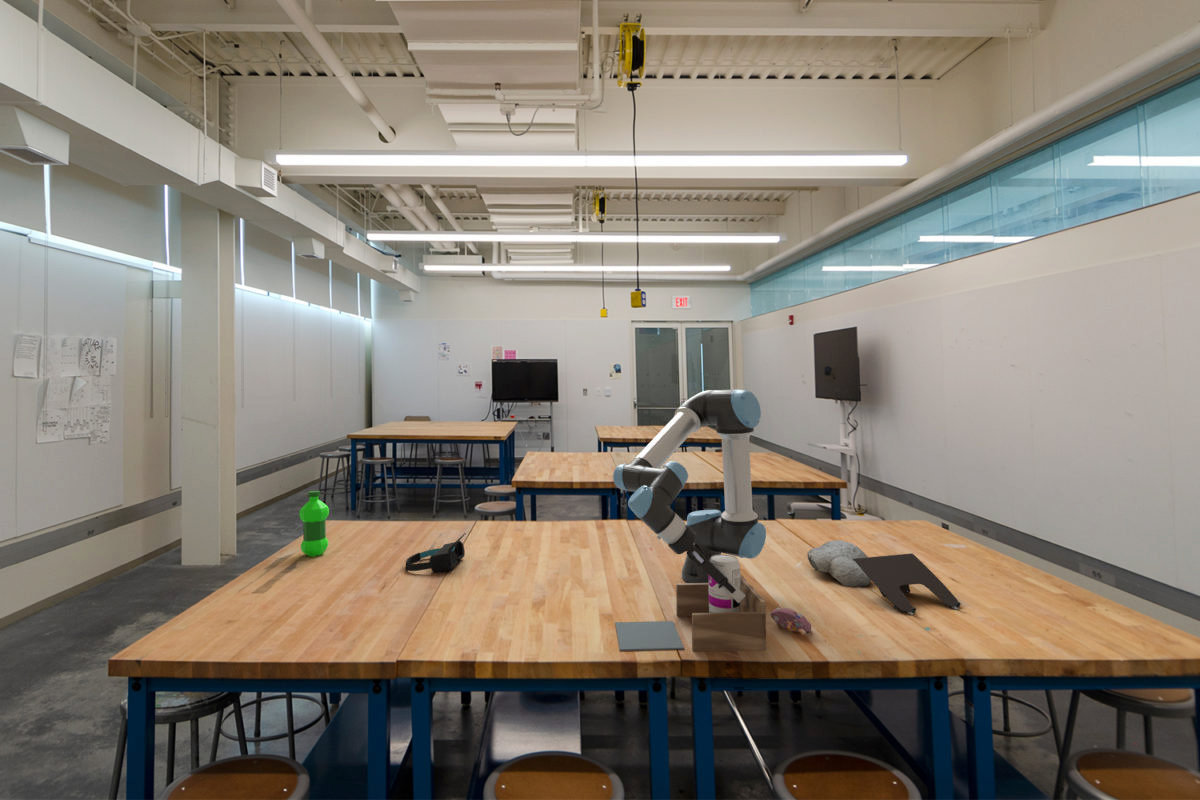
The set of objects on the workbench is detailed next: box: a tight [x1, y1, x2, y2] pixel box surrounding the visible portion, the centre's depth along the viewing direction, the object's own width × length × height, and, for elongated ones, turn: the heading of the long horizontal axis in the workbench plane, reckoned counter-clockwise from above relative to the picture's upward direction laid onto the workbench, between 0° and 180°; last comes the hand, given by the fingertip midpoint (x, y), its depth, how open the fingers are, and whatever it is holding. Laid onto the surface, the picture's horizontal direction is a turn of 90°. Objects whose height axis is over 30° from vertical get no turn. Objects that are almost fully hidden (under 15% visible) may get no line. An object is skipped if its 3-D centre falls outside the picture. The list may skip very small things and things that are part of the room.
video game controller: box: [770, 606, 812, 633], centre depth 149 cm, size 10×5×7 cm, turn 45°
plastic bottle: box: [298, 490, 330, 557], centre depth 218 cm, size 10×10×25 cm
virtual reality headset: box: [405, 532, 467, 573], centre depth 204 cm, size 19×22×10 cm
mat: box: [614, 620, 685, 652], centre depth 145 cm, size 16×16×1 cm
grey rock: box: [807, 539, 872, 588], centre depth 195 cm, size 28×21×9 cm
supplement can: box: [709, 553, 741, 613], centre depth 148 cm, size 8×8×15 cm
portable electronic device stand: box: [853, 552, 961, 616], centre depth 170 cm, size 23×23×9 cm
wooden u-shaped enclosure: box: [675, 573, 767, 652], centre depth 148 cm, size 22×18×12 cm
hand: (736, 592), depth 148 cm, fingers closed on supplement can, 8 cm apart
